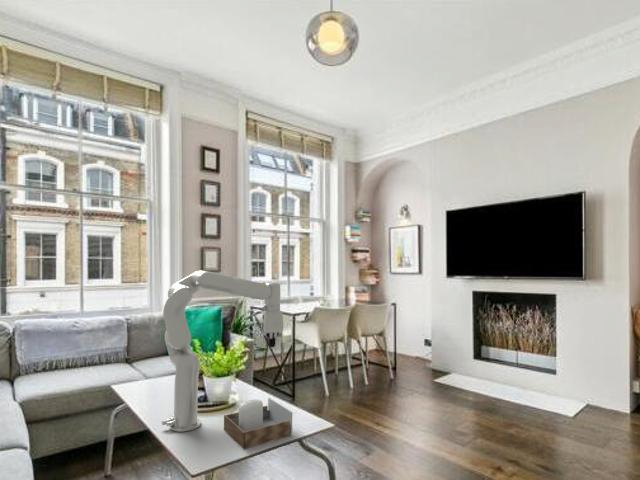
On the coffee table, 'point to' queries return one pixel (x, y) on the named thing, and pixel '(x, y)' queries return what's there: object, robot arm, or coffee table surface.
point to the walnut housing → (255, 431)
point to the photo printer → (251, 415)
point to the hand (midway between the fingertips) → (271, 346)
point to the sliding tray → (273, 415)
